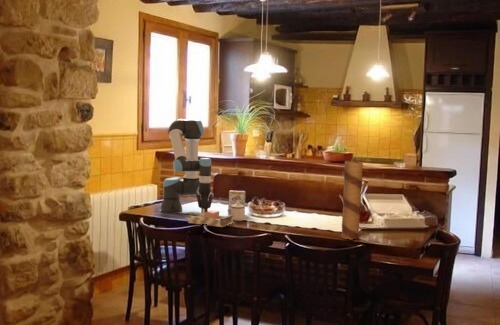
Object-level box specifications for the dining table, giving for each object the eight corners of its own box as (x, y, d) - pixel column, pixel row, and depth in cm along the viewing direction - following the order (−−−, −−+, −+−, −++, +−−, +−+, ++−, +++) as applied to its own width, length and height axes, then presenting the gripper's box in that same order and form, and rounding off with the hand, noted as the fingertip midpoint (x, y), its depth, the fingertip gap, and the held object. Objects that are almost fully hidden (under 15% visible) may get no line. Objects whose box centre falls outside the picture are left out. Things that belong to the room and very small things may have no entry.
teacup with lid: (246, 219, 382) (247, 201, 381) (240, 221, 374) (240, 203, 373) (231, 217, 388) (231, 200, 387) (224, 219, 380) (224, 201, 379)
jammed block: (204, 221, 364) (204, 212, 363) (210, 219, 371) (211, 210, 370) (212, 222, 361) (213, 213, 361) (219, 220, 368) (219, 211, 368)
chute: (188, 222, 366) (188, 214, 365) (199, 219, 378) (199, 211, 378) (222, 227, 355) (222, 218, 354) (233, 223, 367) (233, 215, 367)
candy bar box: (228, 214, 396) (228, 191, 394) (228, 213, 401) (229, 190, 399) (244, 215, 395) (244, 191, 393) (244, 214, 400) (245, 190, 398)
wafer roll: (351, 235, 340) (354, 160, 336) (362, 239, 331) (366, 162, 327) (337, 237, 335) (340, 160, 331) (348, 241, 326) (351, 162, 322)
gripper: (193, 182, 365) (192, 218, 368) (210, 183, 360) (210, 220, 362) (199, 180, 372) (198, 216, 374) (216, 182, 366) (216, 218, 369)
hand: (204, 218), depth 368 cm, fingers closed
